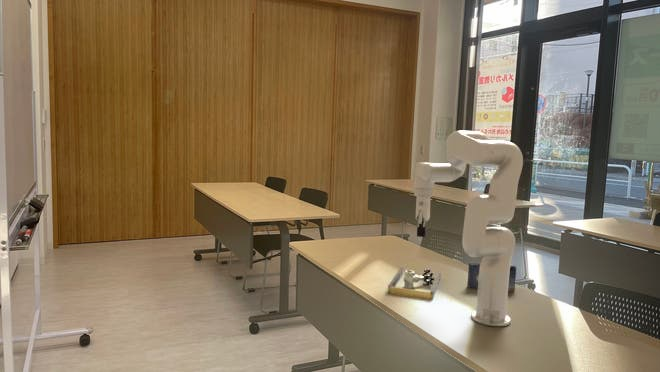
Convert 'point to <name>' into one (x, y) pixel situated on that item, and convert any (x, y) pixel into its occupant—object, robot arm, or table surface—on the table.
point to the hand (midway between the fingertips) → (420, 236)
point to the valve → (417, 278)
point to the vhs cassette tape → (474, 277)
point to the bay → (410, 292)
